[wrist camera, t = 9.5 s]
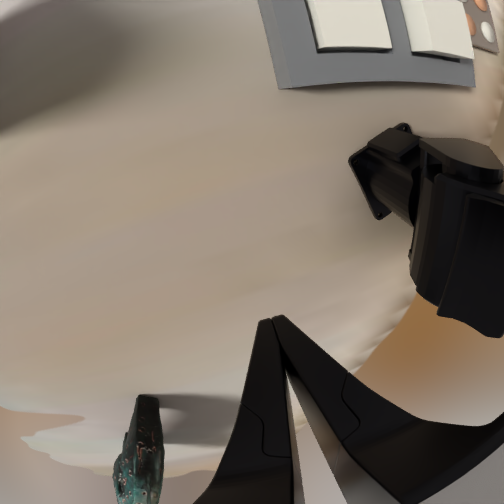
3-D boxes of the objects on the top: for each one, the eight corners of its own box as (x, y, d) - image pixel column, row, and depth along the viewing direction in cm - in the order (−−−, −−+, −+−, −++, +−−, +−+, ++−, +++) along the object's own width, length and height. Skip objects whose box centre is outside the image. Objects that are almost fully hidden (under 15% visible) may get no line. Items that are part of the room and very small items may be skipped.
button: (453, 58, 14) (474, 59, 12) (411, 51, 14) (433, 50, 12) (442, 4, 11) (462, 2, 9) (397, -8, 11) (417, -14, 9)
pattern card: (492, 52, 16) (501, 53, 14) (451, 39, 15) (461, 39, 14) (478, -9, 11) (486, -10, 10) (432, -30, 11) (440, -32, 10)
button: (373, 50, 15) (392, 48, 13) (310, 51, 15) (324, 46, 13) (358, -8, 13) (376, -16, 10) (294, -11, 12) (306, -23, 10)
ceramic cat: (147, 445, 40) (152, 542, 23) (113, 438, 38) (111, 536, 21) (172, 398, 32) (182, 544, 15) (123, 387, 30) (117, 538, 13)
